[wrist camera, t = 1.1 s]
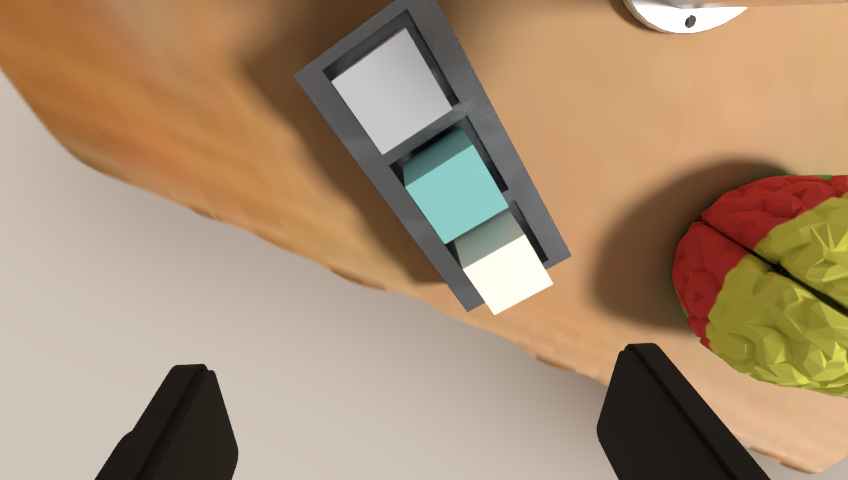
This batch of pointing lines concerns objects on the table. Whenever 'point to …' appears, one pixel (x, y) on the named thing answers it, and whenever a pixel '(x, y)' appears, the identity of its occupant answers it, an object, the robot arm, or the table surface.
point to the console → (432, 135)
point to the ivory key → (501, 262)
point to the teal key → (452, 186)
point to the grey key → (392, 91)
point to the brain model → (772, 281)
